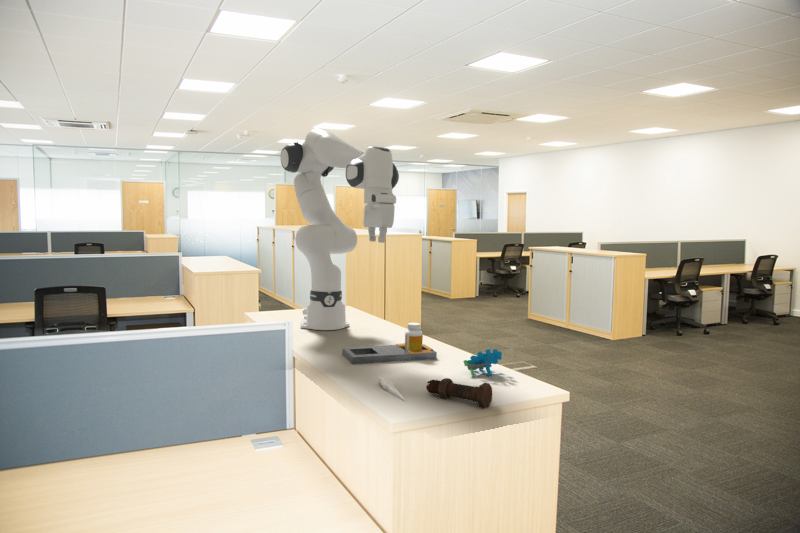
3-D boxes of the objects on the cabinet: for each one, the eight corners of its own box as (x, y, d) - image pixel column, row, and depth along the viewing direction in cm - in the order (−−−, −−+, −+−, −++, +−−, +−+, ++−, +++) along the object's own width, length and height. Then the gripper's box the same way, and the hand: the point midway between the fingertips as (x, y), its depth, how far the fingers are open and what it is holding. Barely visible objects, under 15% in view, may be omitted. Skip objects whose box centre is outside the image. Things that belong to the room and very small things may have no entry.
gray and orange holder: (342, 354, 158) (342, 346, 158) (420, 349, 167) (421, 342, 167) (352, 364, 147) (352, 356, 147) (436, 358, 156) (436, 351, 156)
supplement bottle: (425, 355, 160) (426, 324, 159) (413, 358, 156) (414, 326, 155) (412, 352, 164) (413, 321, 163) (400, 354, 160) (401, 323, 159)
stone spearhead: (374, 383, 130) (375, 375, 130) (384, 382, 131) (385, 374, 131) (399, 405, 117) (399, 397, 116) (409, 404, 118) (410, 396, 117)
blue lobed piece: (496, 362, 147) (504, 344, 139) (503, 381, 143) (512, 363, 136) (459, 369, 145) (465, 350, 137) (465, 388, 141) (472, 370, 133)
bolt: (430, 400, 124) (489, 412, 116) (421, 395, 120) (481, 406, 112) (436, 377, 126) (494, 386, 118) (427, 370, 122) (487, 380, 114)
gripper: (359, 199, 173) (358, 240, 174) (378, 196, 154) (377, 243, 155) (377, 199, 175) (376, 241, 176) (398, 197, 156) (397, 243, 157)
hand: (376, 242), depth 165 cm, fingers open, 8 cm apart
